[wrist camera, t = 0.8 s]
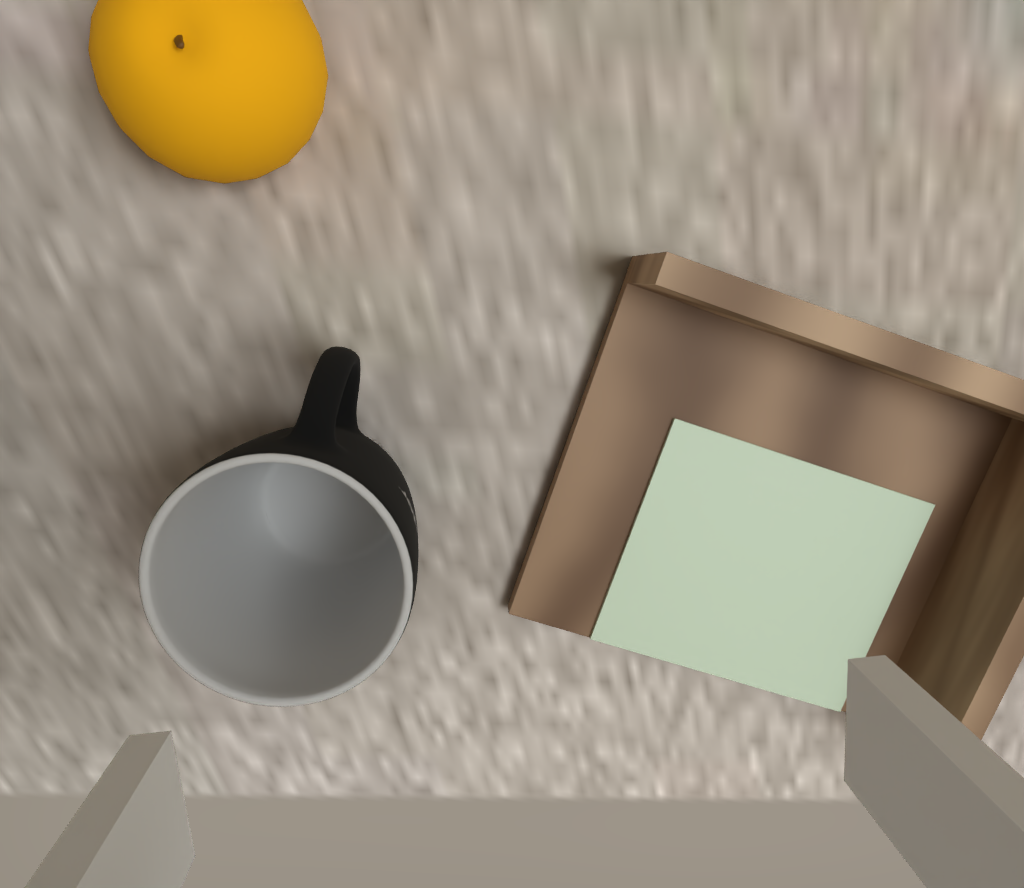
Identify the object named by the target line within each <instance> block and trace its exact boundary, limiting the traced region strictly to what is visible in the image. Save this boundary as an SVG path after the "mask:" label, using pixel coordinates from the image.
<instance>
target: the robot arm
mask: <svg viewBox="0 0 1024 888" xmlns="http://www.w3.org/2000/svg"><path fill="white" fill-rule="evenodd" d="M844 781H845V782H846V784H847V785H848V786H849V788H850V789H851V790H852V791H853V793H854V794H855V795H856V797H857V798H858V799H859V801H860V802H861V803H862V804H863V806H864V807H865V808H866V810H867V811H868V812H869V814H870V815H871V816H872V817H873V819H874V820H875V821H876V823H877V824H878V825H879V826H880V828H881V829H882V830H883V832H884V833H885V834H886V836H887V837H888V838H889V840H890V841H891V842H892V843H893V845H894V846H895V847H896V849H897V850H898V851H899V853H900V854H901V855H902V856H903V858H904V859H905V860H906V862H907V863H908V864H909V866H910V867H911V868H912V869H913V871H914V872H915V873H916V875H917V876H918V877H919V879H920V880H921V881H922V882H923V884H924V885H925V886H926V887H927V888H1024V778H1023V777H1022V776H1021V775H1020V774H1019V773H1017V772H1016V771H1015V770H1014V769H1013V768H1012V767H1011V766H1010V765H1008V764H1007V763H1006V762H1005V761H1004V760H1003V759H1002V758H1001V757H999V756H998V755H997V754H996V753H995V752H994V751H993V750H992V749H990V748H989V747H988V746H987V745H986V744H985V743H984V742H983V741H981V740H980V739H979V738H978V737H977V736H976V735H975V734H974V733H972V732H971V731H970V730H969V729H968V728H967V727H966V726H965V725H963V724H962V723H961V722H960V721H959V720H958V719H957V718H956V717H954V716H953V715H952V714H951V713H950V712H949V711H948V710H946V709H945V708H944V707H943V706H942V705H941V704H940V703H939V702H937V701H936V700H935V699H934V698H933V697H932V696H931V695H930V694H928V693H927V692H926V691H925V690H924V689H923V688H922V687H921V686H919V685H918V684H917V683H916V682H915V681H914V680H913V679H912V678H910V677H909V676H908V675H907V674H906V673H905V672H904V671H903V670H901V669H900V668H899V667H898V666H897V665H896V664H895V663H894V662H892V661H891V660H890V659H889V658H888V657H887V656H886V655H881V656H871V657H862V658H853V659H848V671H847V703H846V735H845V767H844ZM194 857H195V852H194V846H193V842H192V836H191V831H190V826H189V821H188V815H187V811H186V805H185V800H184V795H183V789H182V784H181V779H180V774H179V769H178V763H177V758H176V753H175V748H174V743H173V737H172V732H171V731H166V732H156V733H147V734H138V735H129V737H128V738H127V740H126V741H125V743H124V744H123V745H122V747H121V748H120V750H119V751H118V753H117V754H116V756H115V757H114V759H113V760H112V761H111V763H110V764H109V766H108V767H107V769H106V770H105V772H104V773H103V775H102V776H101V777H100V779H99V780H98V782H97V783H96V785H95V786H94V788H93V789H92V790H91V792H90V793H89V795H88V796H87V798H86V799H85V801H84V802H83V804H82V805H81V806H80V808H79V810H78V811H77V812H76V814H75V815H74V817H73V818H72V819H71V821H70V822H69V824H68V825H67V827H66V828H65V830H64V831H63V833H62V834H61V836H60V837H59V838H58V840H57V841H56V843H55V844H54V846H53V847H52V849H51V850H50V851H49V853H48V854H47V856H46V857H45V859H44V860H43V862H42V863H41V864H40V866H39V867H38V869H37V871H36V872H35V873H34V875H33V876H32V878H31V879H30V880H29V882H28V883H27V885H26V886H25V888H181V887H182V885H183V883H184V880H185V878H186V876H187V873H188V871H189V869H190V866H191V864H192V862H193V860H194Z"/></svg>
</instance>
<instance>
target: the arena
mask: <svg viewBox="0 0 1024 888" xmlns="http://www.w3.org/2000/svg"><path fill="white" fill-rule="evenodd" d="M673 418H676V419H679V420H682V421H685V422H688V423H691V424H694V425H697V426H700V427H703V428H706V429H709V430H712V431H715V432H718V433H721V434H724V435H727V436H730V437H733V438H736V439H739V440H742V441H745V442H748V443H751V444H754V445H757V446H760V447H763V448H766V449H769V450H772V451H775V452H778V453H781V454H785V455H788V456H791V457H794V458H797V459H800V460H803V461H806V462H809V463H812V464H815V465H818V466H821V467H824V468H827V469H830V470H833V471H836V472H839V473H842V474H845V475H848V476H851V477H854V478H857V479H860V480H863V481H866V482H869V483H872V484H875V485H878V486H881V487H884V488H887V489H890V490H893V491H896V492H899V493H902V494H905V495H908V496H911V497H914V498H917V499H920V500H923V501H926V502H929V503H932V504H934V505H935V507H934V509H933V511H932V513H931V515H930V518H929V520H928V522H927V524H926V526H925V529H924V531H923V533H922V535H921V537H920V539H919V542H918V544H917V546H916V548H915V550H914V552H913V555H912V557H911V559H910V561H909V563H908V565H907V568H906V570H905V572H904V574H903V576H902V579H901V581H900V583H899V585H898V587H897V589H896V592H895V594H894V596H893V598H892V600H891V602H890V605H889V607H888V609H887V611H886V613H885V615H884V618H883V620H882V622H881V624H880V626H879V629H878V631H877V633H876V635H875V637H874V639H873V642H872V644H871V646H870V648H869V650H868V652H867V655H866V657H871V656H881V655H886V656H887V657H888V658H889V659H890V660H891V661H892V662H894V663H895V664H896V665H897V666H898V667H899V668H900V669H901V670H903V671H904V672H905V673H906V674H907V675H908V676H909V677H910V678H912V679H913V680H914V681H915V682H916V683H917V684H918V685H919V686H921V687H922V688H923V689H924V690H925V691H926V692H927V693H928V694H930V695H931V696H932V697H933V698H934V699H935V700H936V701H937V702H939V703H940V704H941V705H942V706H943V707H944V708H945V709H946V710H948V711H949V712H950V713H951V714H952V715H953V716H954V717H956V718H957V719H958V720H959V721H960V722H961V723H962V724H963V725H965V726H966V727H967V728H968V729H969V730H970V731H971V732H972V733H974V734H975V735H976V736H977V737H978V738H979V739H980V740H981V739H982V737H983V735H984V733H985V731H986V729H987V727H988V725H989V724H990V722H991V720H992V718H993V716H994V714H995V712H996V710H997V708H998V706H999V704H1000V702H1001V700H1002V698H1003V696H1004V694H1005V692H1006V690H1007V688H1008V686H1009V684H1010V682H1011V680H1012V678H1013V676H1014V674H1015V672H1016V670H1017V668H1018V666H1019V664H1020V662H1021V660H1022V658H1023V656H1024V380H1022V379H1020V378H1017V377H1014V376H1011V375H1008V374H1006V373H1003V372H1000V371H997V370H995V369H992V368H989V367H986V366H983V365H981V364H978V363H975V362H972V361H969V360H967V359H964V358H961V357H958V356H956V355H953V354H950V353H947V352H944V351H942V350H939V349H936V348H933V347H931V346H928V345H925V344H922V343H919V342H917V341H914V340H911V339H908V338H905V337H903V336H900V335H897V334H894V333H892V332H889V331H886V330H883V329H880V328H878V327H875V326H872V325H869V324H866V323H864V322H861V321H858V320H855V319H853V318H850V317H847V316H844V315H841V314H839V313H836V312H833V311H830V310H828V309H825V308H822V307H819V306H816V305H814V304H811V303H808V302H805V301H802V300H800V299H797V298H794V297H791V296H789V295H786V294H783V293H780V292H777V291H775V290H772V289H769V288H766V287H763V286H761V285H758V284H755V283H752V282H750V281H747V280H744V279H741V278H738V277H736V276H733V275H730V274H727V273H725V272H722V271H719V270H716V269H713V268H711V267H708V266H705V265H702V264H699V263H697V262H694V261H691V260H688V259H686V258H683V257H680V256H677V255H674V254H672V253H669V252H662V253H654V254H647V255H639V256H632V259H631V262H630V265H629V267H628V270H627V273H626V276H625V279H624V281H623V284H622V287H621V290H620V293H619V295H618V298H617V301H616V304H615V307H614V309H613V312H612V315H611V318H610V321H609V323H608V326H607V329H606V332H605V335H604V337H603V340H602V343H601V346H600V349H599V351H598V354H597V357H596V360H595V363H594V365H593V368H592V371H591V374H590V377H589V379H588V382H587V385H586V388H585V391H584V393H583V396H582V399H581V402H580V405H579V407H578V410H577V413H576V416H575V418H574V421H573V424H572V427H571V430H570V432H569V435H568V438H567V441H566V444H565V446H564V449H563V452H562V455H561V458H560V460H559V463H558V466H557V469H556V472H555V474H554V477H553V480H552V483H551V486H550V488H549V491H548V494H547V497H546V500H545V502H544V505H543V508H542V511H541V514H540V516H539V519H538V522H537V525H536V528H535V530H534V533H533V536H532V539H531V542H530V544H529V547H528V550H527V553H526V556H525V558H524V561H523V564H522V567H521V570H520V572H519V575H518V578H517V581H516V584H515V586H514V589H513V592H512V595H511V598H510V600H509V603H508V610H509V614H512V615H515V616H518V617H522V618H525V619H529V620H532V621H536V622H539V623H542V624H546V625H549V626H553V627H556V628H560V629H563V630H566V631H570V632H573V633H577V634H580V635H584V636H587V637H590V635H591V633H592V630H593V627H594V625H595V622H596V620H597V617H598V614H599V612H600V609H601V606H602V604H603V601H604V599H605V596H606V593H607V591H608V588H609V586H610V583H611V580H612V578H613V575H614V573H615V570H616V567H617V565H618V562H619V559H620V557H621V554H622V552H623V549H624V546H625V544H626V541H627V539H628V536H629V533H630V531H631V528H632V525H633V523H634V520H635V518H636V515H637V512H638V510H639V507H640V505H641V502H642V499H643V497H644V494H645V492H646V489H647V486H648V484H649V481H650V478H651V476H652V473H653V471H654V468H655V465H656V463H657V460H658V458H659V455H660V452H661V450H662V447H663V445H664V442H665V439H666V437H667V434H668V431H669V429H670V426H671V424H672V421H673ZM846 703H847V698H846V700H845V702H844V705H843V707H842V709H841V711H844V712H846Z"/></svg>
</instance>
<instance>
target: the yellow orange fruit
mask: <svg viewBox="0 0 1024 888" xmlns="http://www.w3.org/2000/svg"><path fill="white" fill-rule="evenodd" d="M88 51H89V56H90V59H91V63H92V67H93V71H94V75H95V79H96V83H97V86H98V90H99V93H100V95H101V96H102V98H103V100H104V102H105V103H106V105H107V107H108V109H109V110H110V112H111V114H112V115H113V117H114V119H115V121H116V122H117V124H118V125H119V127H120V128H121V129H122V130H123V131H124V132H125V133H126V134H127V135H128V136H129V137H130V138H131V139H132V140H133V141H134V142H135V143H136V144H137V145H138V146H139V147H140V148H141V149H142V150H143V151H144V152H145V153H146V154H147V155H148V156H149V157H150V158H152V159H154V160H155V161H157V162H159V163H161V164H163V165H164V166H166V167H168V168H170V169H172V170H174V171H175V172H177V173H179V174H181V175H183V176H184V177H187V178H193V179H200V180H206V181H212V182H218V183H224V184H225V183H231V182H237V181H244V180H250V179H256V178H259V177H261V176H263V175H265V174H267V173H269V172H271V171H273V170H275V169H277V168H279V167H281V166H283V165H285V164H287V163H288V162H289V161H290V160H291V159H292V158H293V157H294V156H295V155H296V154H297V153H298V152H299V151H300V149H301V148H302V147H303V146H304V145H305V144H306V143H307V142H308V141H309V140H310V137H311V135H312V133H313V131H314V129H315V127H316V125H317V123H318V121H319V119H320V116H321V114H322V112H323V107H324V100H325V93H326V86H327V80H328V73H327V67H326V62H325V56H324V51H323V46H322V40H321V37H320V35H319V33H318V31H317V29H316V27H315V25H314V23H313V21H312V19H311V17H310V15H309V13H308V11H307V9H306V7H305V5H304V3H303V1H302V0H98V2H97V4H96V7H95V9H94V11H93V14H92V16H91V27H90V38H89V49H88Z"/></svg>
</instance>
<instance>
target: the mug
mask: <svg viewBox="0 0 1024 888" xmlns="http://www.w3.org/2000/svg"><path fill="white" fill-rule="evenodd" d="M359 383H360V359H359V356H358V355H357V354H356V353H355V352H354V351H352V350H350V349H347V348H344V347H331V348H329V349H327V350H325V351H324V352H323V354H322V355H321V357H320V359H319V361H318V363H317V365H316V367H315V369H314V372H313V374H312V377H311V380H310V382H309V386H308V389H307V392H306V395H305V399H304V402H303V406H302V409H301V412H300V415H299V418H298V420H297V423H296V425H295V426H294V427H292V428H287V429H283V430H279V431H276V432H273V433H270V434H266V435H264V436H261V437H258V438H256V439H254V440H251V441H249V442H247V443H245V444H242V445H240V446H238V447H236V448H234V449H232V450H230V451H228V452H226V453H225V454H223V455H221V456H219V457H218V458H216V459H214V460H212V461H211V462H209V463H207V464H206V465H204V466H203V467H202V468H200V469H199V470H197V471H196V472H195V473H193V474H192V475H191V476H189V477H188V478H187V479H186V480H185V481H184V482H182V483H181V484H180V485H179V486H178V487H177V488H176V489H175V490H174V491H173V492H172V493H171V494H170V495H169V496H168V497H167V499H166V500H165V501H164V503H163V504H162V505H161V507H160V508H159V510H158V511H157V513H156V515H155V516H154V518H153V520H152V522H151V524H150V526H149V528H148V530H147V533H146V535H145V538H144V542H143V545H142V549H141V554H140V560H139V589H140V596H141V601H142V605H143V609H144V612H145V615H146V617H147V620H148V622H149V625H150V627H151V629H152V631H153V633H154V635H155V636H156V638H157V640H158V641H159V643H160V644H161V646H162V647H163V648H164V650H165V651H166V653H167V654H168V655H169V656H170V657H171V658H172V659H173V661H174V662H175V663H176V664H177V665H178V666H180V667H181V668H182V669H183V670H184V671H185V672H186V673H187V674H189V675H190V676H191V677H193V678H194V679H195V680H197V681H198V682H200V683H201V684H203V685H204V686H206V687H208V688H210V689H212V690H214V691H216V692H217V693H220V694H222V695H225V696H227V697H229V698H232V699H236V700H239V701H242V702H246V703H251V704H255V705H262V706H273V707H290V706H300V705H308V704H312V703H316V702H321V701H324V700H327V699H330V698H333V697H335V696H337V695H340V694H342V693H344V692H346V691H348V690H350V689H352V688H353V687H355V686H357V685H358V684H359V683H361V682H362V681H364V680H365V679H366V678H368V677H369V676H370V675H371V674H373V673H374V672H375V671H376V670H377V669H378V668H379V667H380V666H381V665H382V664H383V663H384V661H385V660H386V659H387V658H388V657H389V655H390V654H391V653H392V651H393V650H394V648H395V646H396V645H397V643H398V642H399V640H400V638H401V636H402V634H403V632H404V630H405V628H406V625H407V622H408V620H409V617H410V613H411V609H412V606H413V602H414V597H415V591H416V584H417V572H418V531H417V522H416V515H415V509H414V505H413V501H412V497H411V494H410V491H409V488H408V485H407V483H406V481H405V478H404V476H403V474H402V473H401V471H400V469H399V468H398V466H397V465H396V463H395V462H394V461H393V459H392V458H391V457H390V456H389V455H388V454H387V452H386V451H384V450H383V449H382V448H381V447H380V446H379V445H378V444H376V443H375V442H374V441H372V440H371V439H369V438H368V437H366V436H364V435H363V434H362V433H361V432H360V431H359V429H358V425H357V417H356V409H357V399H358V392H359Z"/></svg>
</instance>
